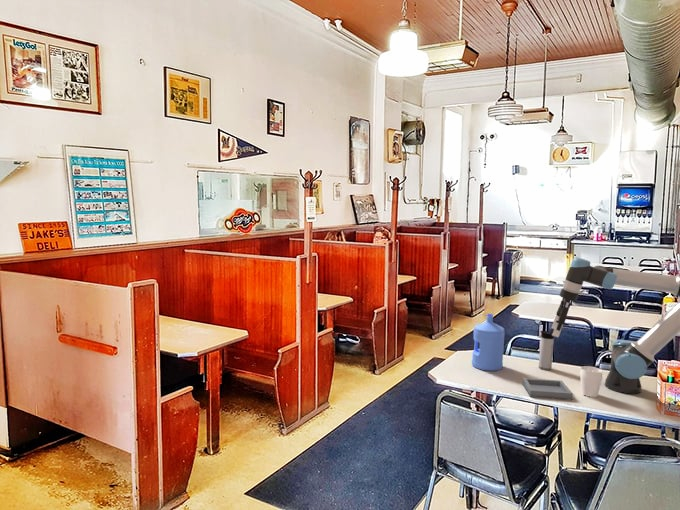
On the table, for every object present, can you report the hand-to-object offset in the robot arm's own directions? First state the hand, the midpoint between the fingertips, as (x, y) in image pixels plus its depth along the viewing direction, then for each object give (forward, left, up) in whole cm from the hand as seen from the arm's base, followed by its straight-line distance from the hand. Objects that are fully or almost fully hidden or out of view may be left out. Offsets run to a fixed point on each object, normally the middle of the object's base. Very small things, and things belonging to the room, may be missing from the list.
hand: (554, 332), depth 237 cm
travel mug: (-4, -26, -26) cm, 37 cm away
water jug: (+26, -23, -26) cm, 44 cm away
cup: (-15, +8, -26) cm, 31 cm away
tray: (+4, +8, -26) cm, 28 cm away
